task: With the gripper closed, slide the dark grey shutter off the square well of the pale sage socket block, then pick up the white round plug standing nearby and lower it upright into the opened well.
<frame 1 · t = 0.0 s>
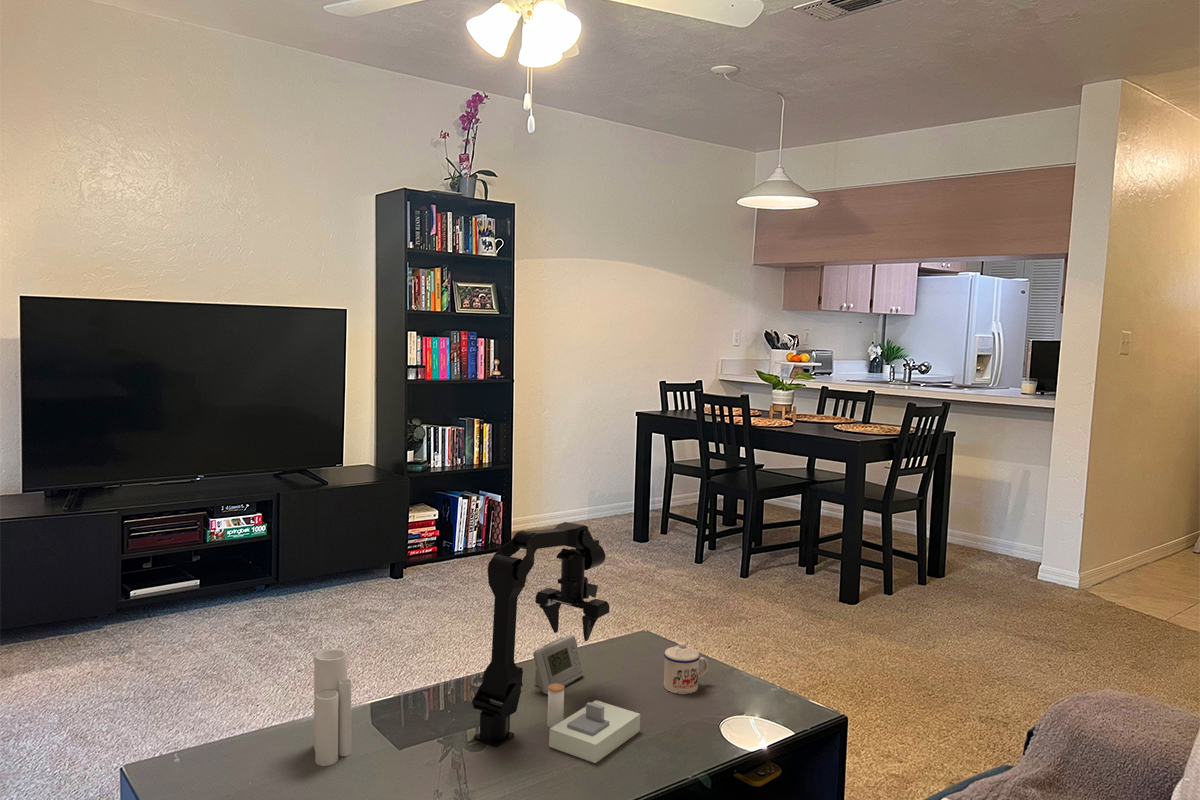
hand: (571, 636, 210), 15 cm above the table, tool pointing down, fingers open, 9 cm apart
digital clock: (558, 684, 217), on the table
shutter: (588, 717, 185), point 6 cm above the table, slide at 0.0 cm
socket block: (595, 738, 188), on the table
vase: (332, 752, 179), on the table
plug: (555, 725, 194), on the table
teacup with lid: (685, 687, 217), on the table
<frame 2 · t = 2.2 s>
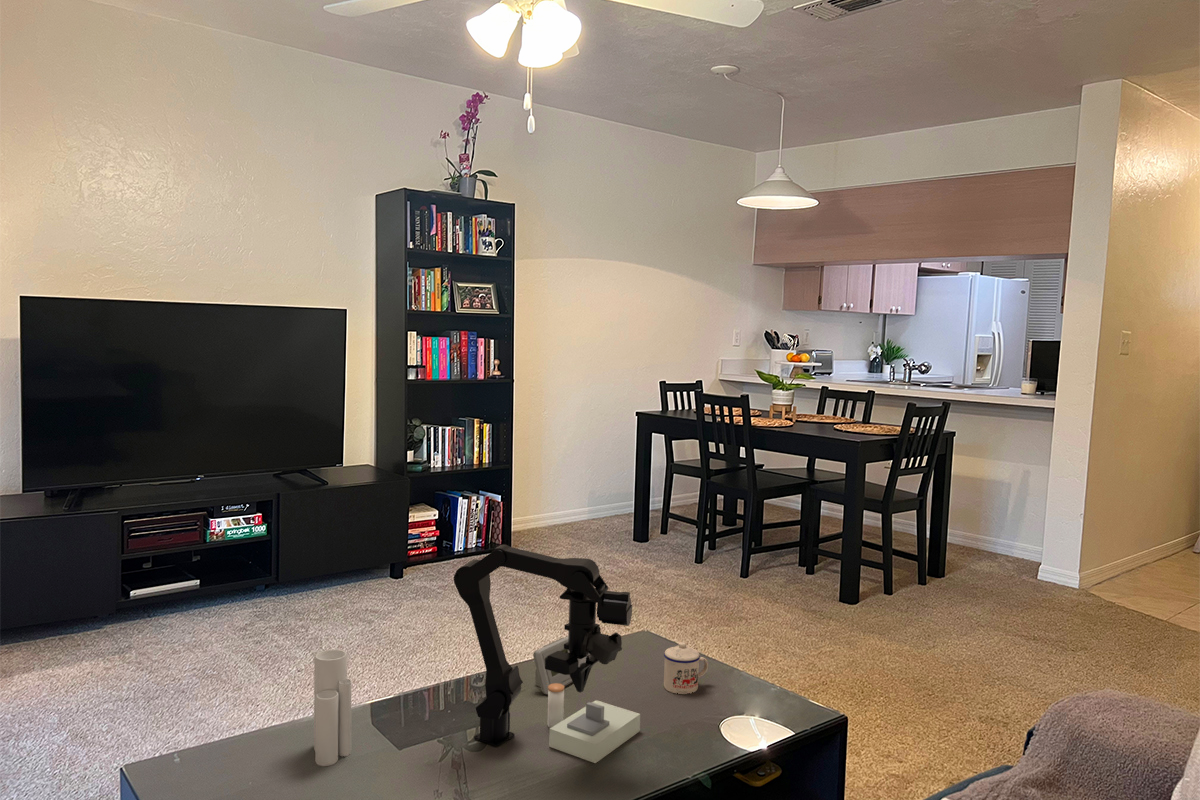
hand: (580, 691, 182), 13 cm above the table, tool pointing down, fingers closed
nothing on the table moved.
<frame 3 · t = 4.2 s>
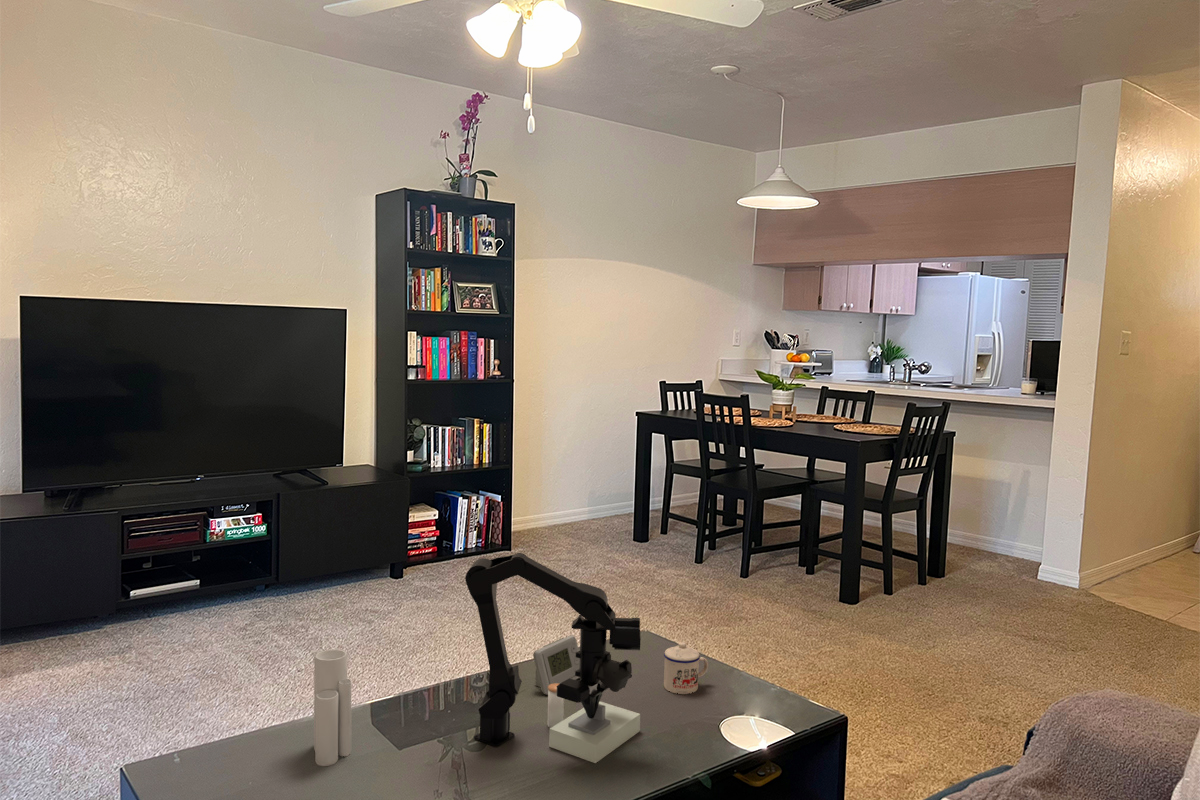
hand: (591, 717, 186), 6 cm above the table, tool pointing down, fingers closed
shutter: (589, 716, 185), point 6 cm above the table, slide at 0.5 cm, touching gripper
everything else where it was.
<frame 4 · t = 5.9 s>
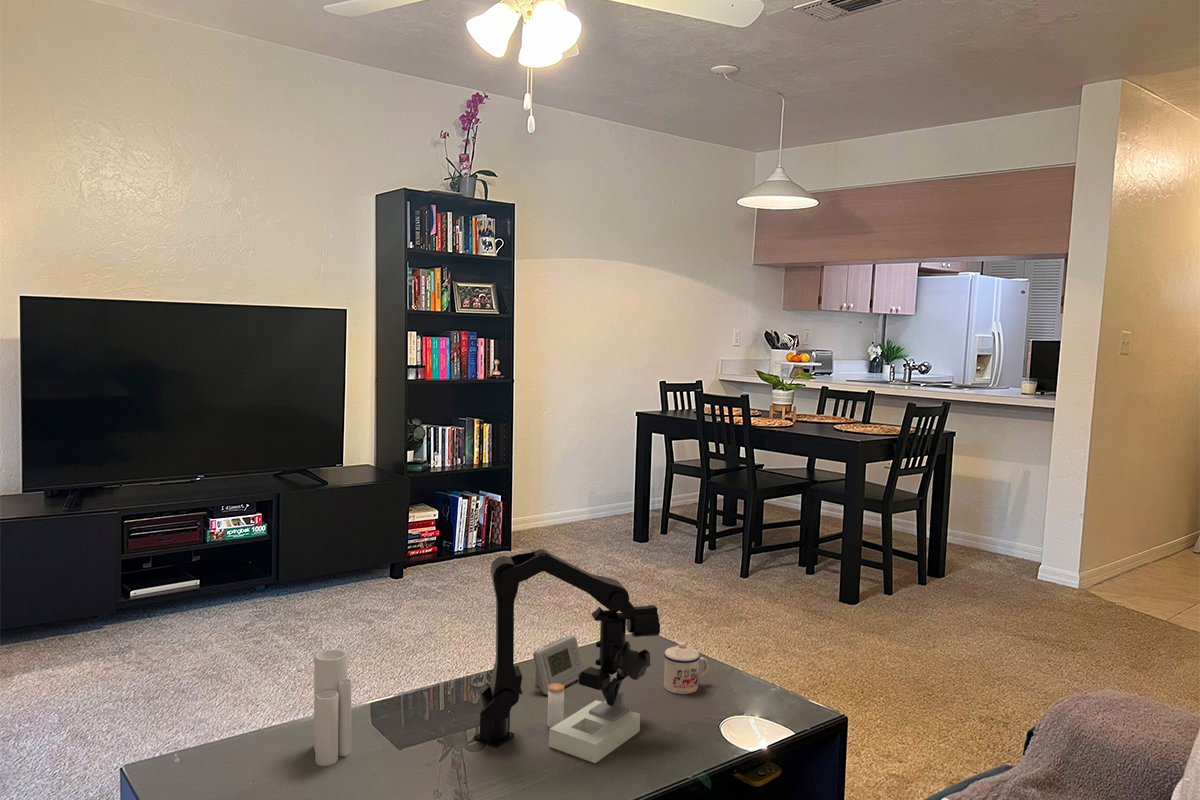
hand: (610, 705, 192), 6 cm above the table, tool pointing down, fingers closed
shutter: (609, 704, 192), point 6 cm above the table, slide at 8.4 cm, touching gripper
everything else where it was.
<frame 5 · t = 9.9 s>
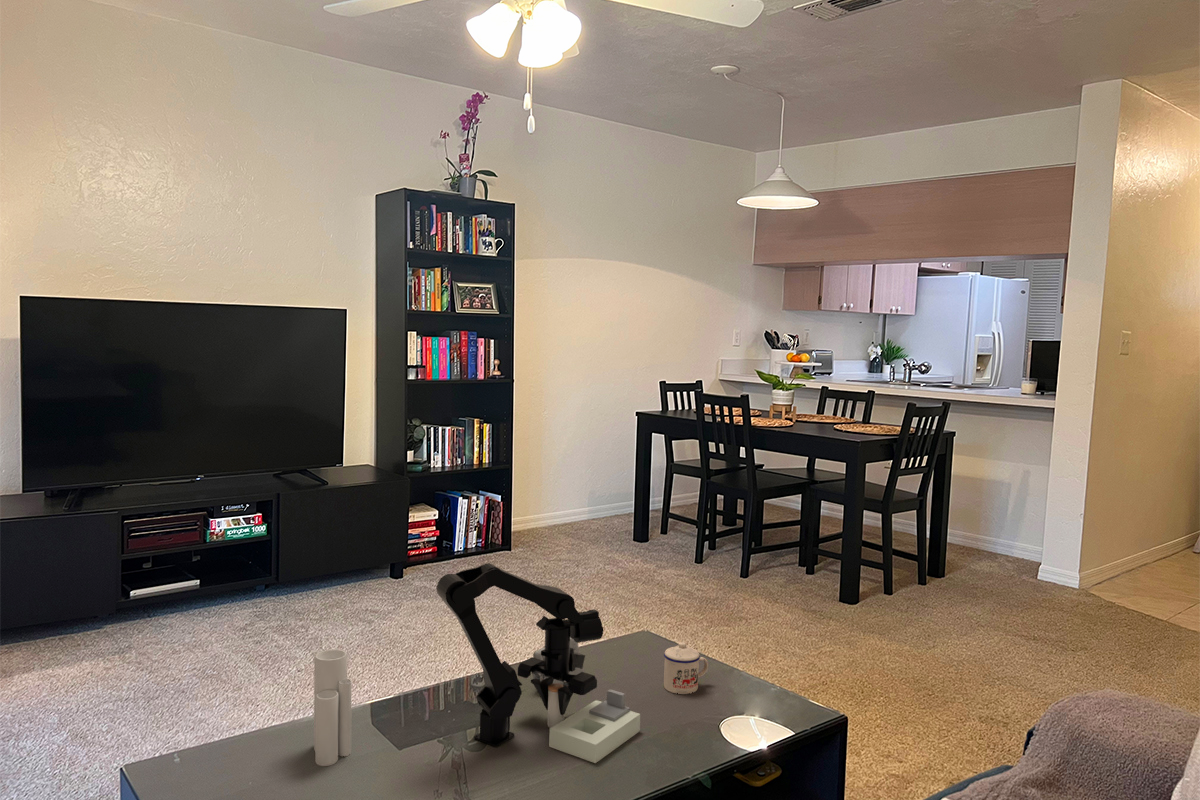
hand: (555, 712, 194), 3 cm above the table, tool pointing down, fingers closed on plug, 4 cm apart
shutter: (609, 704, 192), point 6 cm above the table, slide at 8.5 cm
plug: (555, 725, 194), on the table, touching gripper
everything else where it was.
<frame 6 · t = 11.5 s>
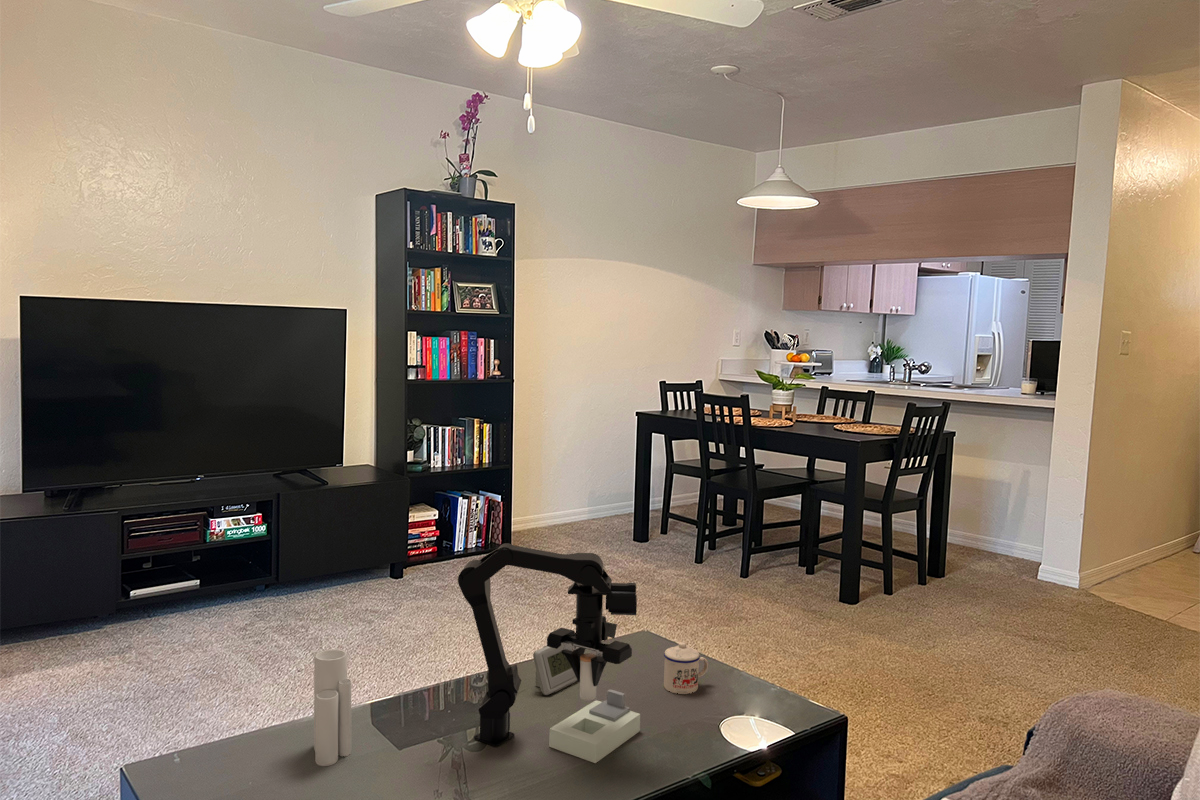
hand: (587, 683, 185), 13 cm above the table, tool pointing down, fingers closed on plug, 4 cm apart
plug: (587, 696, 186), point 10 cm above the table, touching gripper
everything else where it was.
when the fingers open (5 cm above the table, at t = 13.2 s): plug drops 2 cm, resting in socket block.
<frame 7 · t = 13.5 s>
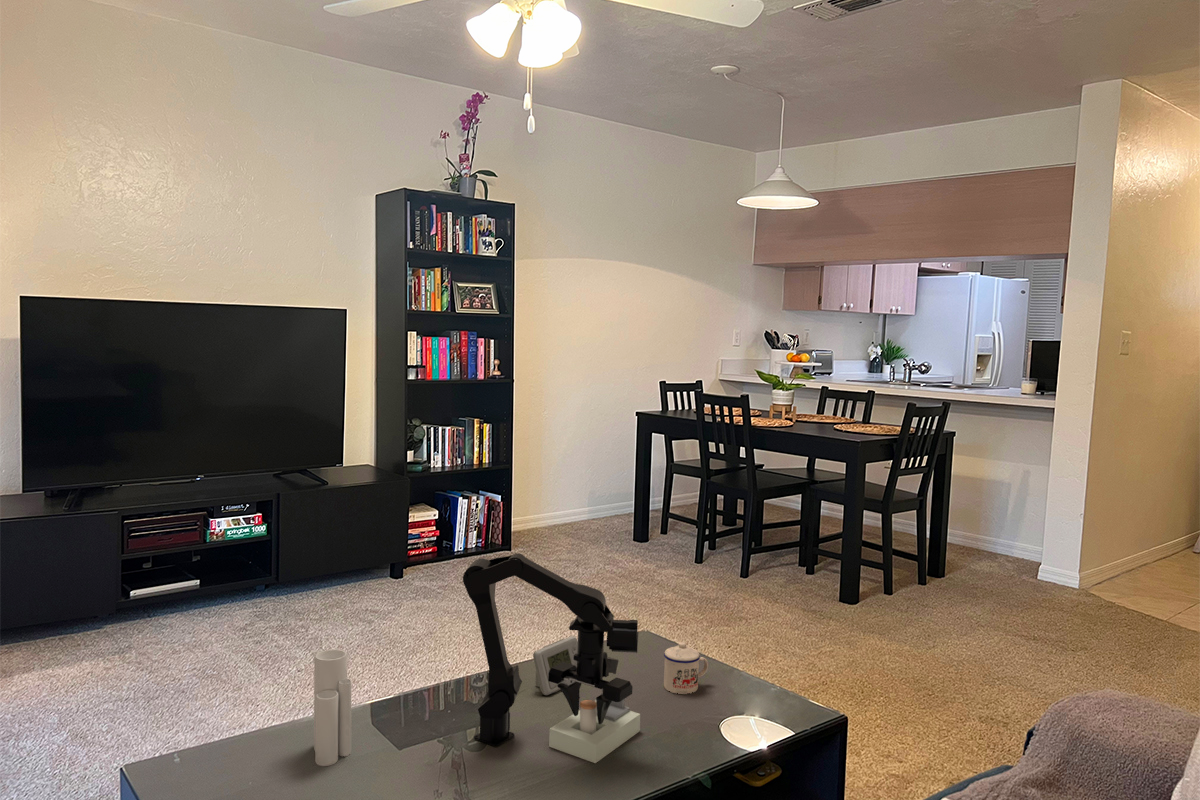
hand: (588, 719, 185), 5 cm above the table, tool pointing down, fingers open, 6 cm apart
plug: (587, 743, 186), resting in socket block
everything else where it was.
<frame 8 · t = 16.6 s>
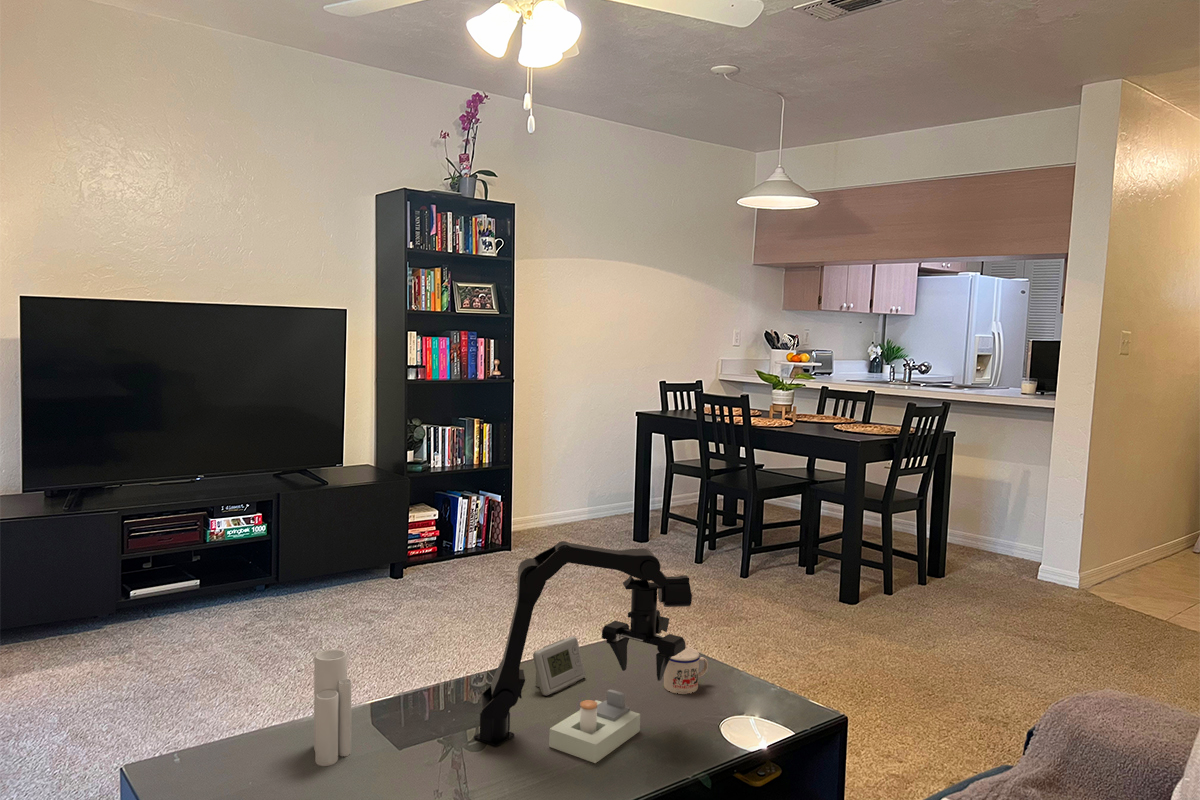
hand: (641, 675, 191), 13 cm above the table, tool pointing down, fingers open, 9 cm apart
nothing on the table moved.
at the end: plug 0.1 cm from the target spot on the socket block, point 0.0 cm above the socket block's base; plug tilted 0°; shutter slide at 8.5 cm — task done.
